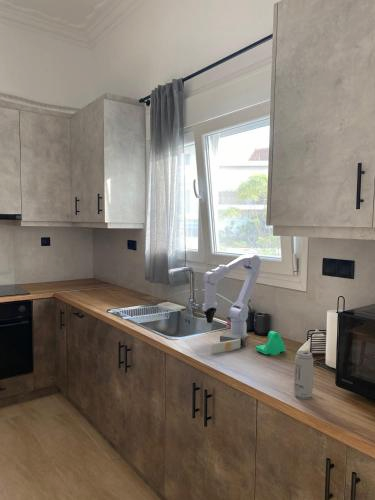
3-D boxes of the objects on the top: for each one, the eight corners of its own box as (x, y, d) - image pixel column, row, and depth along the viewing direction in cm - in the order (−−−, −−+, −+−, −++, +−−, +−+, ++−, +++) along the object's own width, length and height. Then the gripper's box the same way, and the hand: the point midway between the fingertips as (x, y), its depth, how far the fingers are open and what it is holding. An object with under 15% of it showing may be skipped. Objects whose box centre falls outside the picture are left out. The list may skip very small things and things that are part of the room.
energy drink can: (290, 393, 134) (291, 351, 133) (305, 391, 136) (306, 349, 135) (300, 401, 128) (302, 356, 127) (315, 398, 130) (317, 355, 129)
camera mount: (274, 348, 185) (274, 327, 184) (285, 352, 178) (286, 331, 178) (254, 351, 179) (255, 330, 178) (265, 356, 172) (266, 334, 172)
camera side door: (211, 352, 174) (211, 343, 174) (239, 347, 183) (239, 338, 183) (213, 353, 173) (213, 344, 173) (241, 348, 182) (241, 339, 182)
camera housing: (225, 341, 194) (225, 332, 194) (246, 344, 189) (246, 335, 189) (219, 344, 188) (219, 335, 188) (241, 348, 183) (241, 339, 182)
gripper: (208, 293, 201) (208, 318, 201) (196, 297, 188) (196, 324, 189) (221, 294, 197) (220, 320, 198) (209, 298, 185) (209, 326, 185)
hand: (209, 322), depth 193 cm, fingers closed
